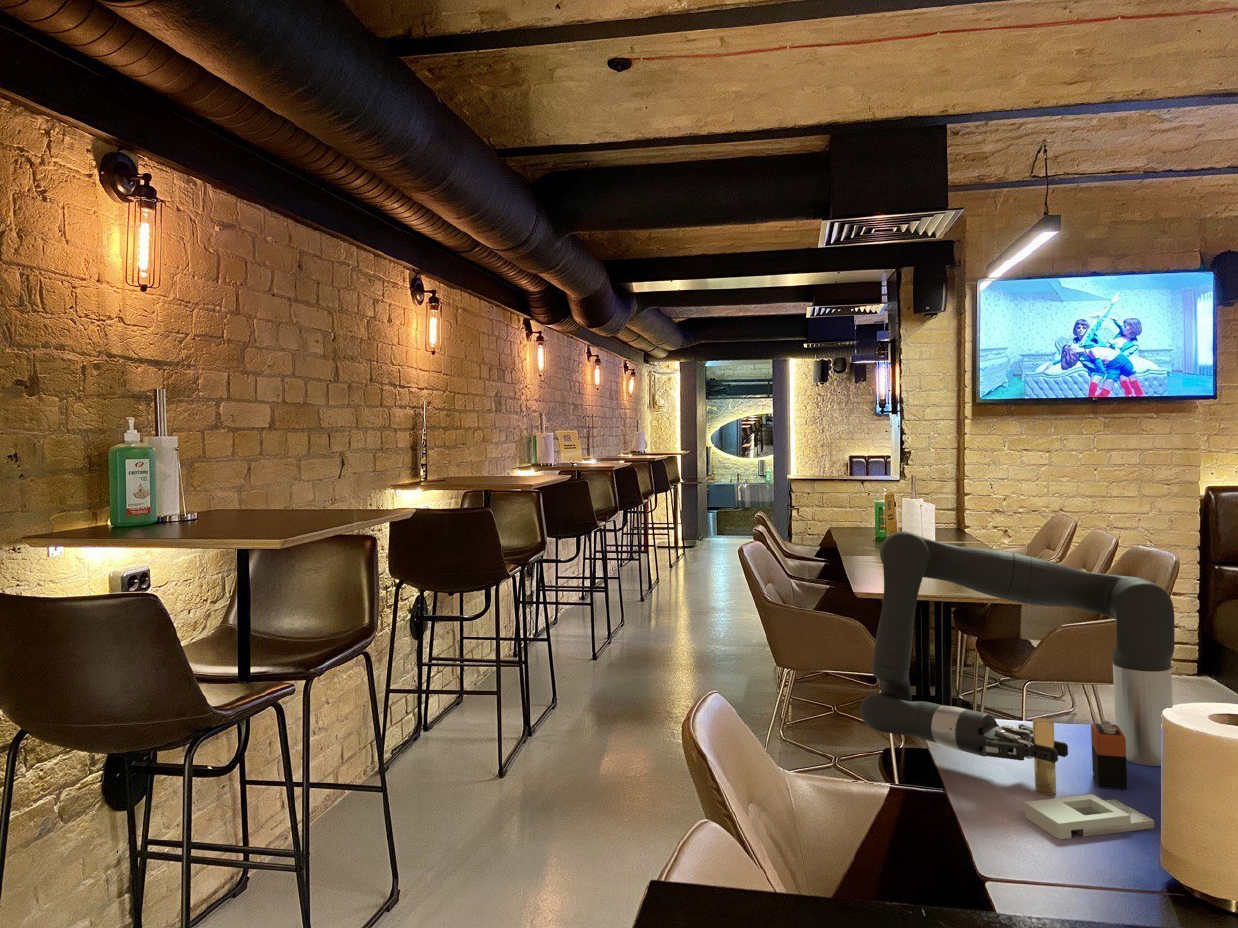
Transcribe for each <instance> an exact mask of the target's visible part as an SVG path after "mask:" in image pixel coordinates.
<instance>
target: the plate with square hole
mask: <svg viewBox="0 0 1238 928" xmlns="http://www.w3.org/2000/svg"><path fill="white" fill-rule="evenodd" d="M1023 806H1024V818H1025V819H1027V820H1029V821H1030V822H1032V823H1033V824H1035V825H1036V826H1037V827H1039V828H1040V829H1042V830H1044V832H1047V833H1049V834H1050V835H1051V836H1053V837H1054V838H1056V839H1058V840H1068V839H1072V831H1074V830H1077V829H1085V828H1093V827H1102V826H1110V825H1119V824H1127V823H1131V817H1130V815H1129V814H1127V813H1126V812H1124V811H1122V810H1120V809H1118V808H1116V807H1115V806H1113V805H1111V804H1109V803H1107V802H1105V801H1104V800H1103V799H1102V798H1100V797H1098V796H1096V795H1094V794H1091V793H1090V794H1084V795H1083V794H1082V795H1074V796H1064V797H1058V798H1057V797H1056V798H1048V799H1047V798H1046V799H1039V800H1038V799H1036V800H1029V801H1028V800H1027V801H1024V803H1023ZM1082 807H1093V808H1094V809H1096V810H1098V811H1100V812H1101V813H1102V814H1093V815H1092V814H1087V815H1083V814H1081V813H1080V812H1078V811H1076V810H1075V809H1074V808H1082Z"/></svg>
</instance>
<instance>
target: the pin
mask: <svg viewBox="0 0 1238 928" xmlns="http://www.w3.org/2000/svg"><path fill="white" fill-rule="evenodd" d="M1054 725H1055V723H1054V720H1052V719H1049V718H1043V717H1037V718H1033V719H1032V728H1033V745H1034V744H1038V745H1042V746H1046V747H1051V748H1055V743H1054V741H1055V726H1054ZM1033 763H1034V766H1033V769H1034V770H1033V771H1034V791H1035V792H1036V793H1038V794H1040V795H1045V796H1054V795H1057V776H1056V775H1057V774H1056V772H1057V771H1056V762H1055V763H1053V762H1049V761H1045V760H1041V759H1037V758H1034V757H1033Z"/></svg>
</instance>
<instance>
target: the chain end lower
mask: <svg viewBox="0 0 1238 928" xmlns="http://www.w3.org/2000/svg"><path fill="white" fill-rule="evenodd" d="M1104 801H1105V802H1107V803H1109V804H1111V805H1113V806H1115V807H1116V808H1118V809H1120V810H1122V811H1124V812H1126V813H1127V814H1129V815H1130V817H1131V823H1127V824H1119V825H1110V826H1102V827H1093V828H1085V829H1077V830H1073V831H1074V832H1075V833H1077V834H1079V836H1081V837H1091V836H1101V835H1109V834H1117V833H1124V832H1125V833H1126V832H1134V831H1140V830H1148V829H1151V830H1152V829H1155V820H1154V819H1152V818H1151V817H1149V816H1147V815H1145V814H1143V813H1141V812H1140V811H1137V810H1136V809H1135V808H1132V807H1130V806H1128V805H1126V804H1124V803H1123V802H1121V801H1119V800H1117V799H1115V798H1114V799H1105V800H1104ZM1074 809H1075V810H1076V811H1078V812H1080V813H1081V814H1083V815H1093V814H1102V813H1101V812H1100V811H1098V810H1096V809H1094V808H1093V807H1082V808H1074Z"/></svg>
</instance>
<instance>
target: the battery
mask: <svg viewBox="0 0 1238 928" xmlns="http://www.w3.org/2000/svg"><path fill="white" fill-rule="evenodd" d="M1090 737H1091V740H1090V741H1091V759H1092V760H1091V762H1092V774H1093V776H1094V779H1095V780H1096V782H1097V785H1098V786H1099V787H1100V788H1106V789H1115V790H1116V789H1119V790H1127V789H1128V765H1127V764H1128V761H1127V759H1126V738H1125V736H1124V735H1123V733H1122V731H1121V730H1120V728H1119V727H1118V726H1117V725H1115V724H1112V722H1111V721H1108V720H1100V723H1091V724H1090Z"/></svg>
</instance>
